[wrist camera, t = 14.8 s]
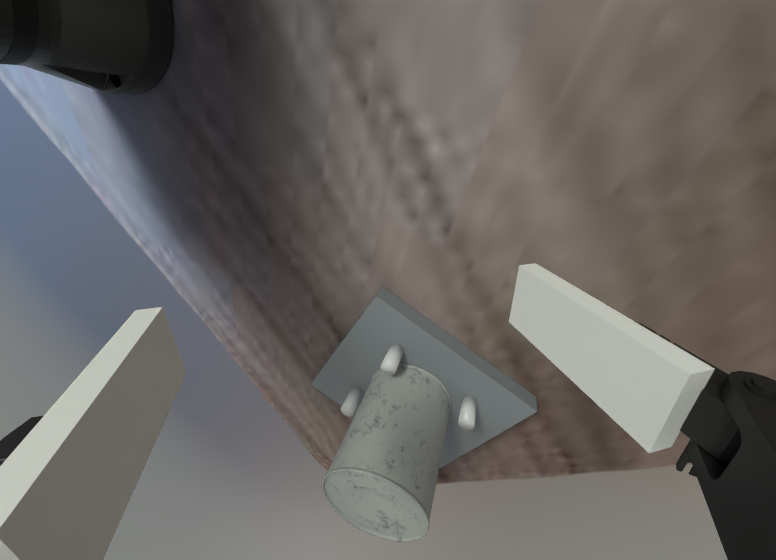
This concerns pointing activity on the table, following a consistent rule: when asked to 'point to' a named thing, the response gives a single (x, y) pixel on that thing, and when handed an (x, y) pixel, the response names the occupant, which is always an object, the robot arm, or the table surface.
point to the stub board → (437, 356)
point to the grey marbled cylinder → (391, 455)
